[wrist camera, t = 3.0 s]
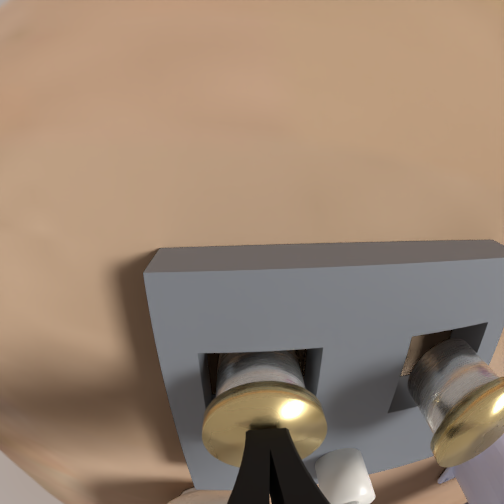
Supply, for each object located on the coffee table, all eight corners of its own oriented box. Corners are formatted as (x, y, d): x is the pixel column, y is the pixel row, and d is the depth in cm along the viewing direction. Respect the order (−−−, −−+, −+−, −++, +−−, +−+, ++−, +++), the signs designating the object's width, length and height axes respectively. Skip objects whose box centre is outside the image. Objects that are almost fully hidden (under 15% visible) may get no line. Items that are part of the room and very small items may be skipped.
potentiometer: (365, 444, 14) (389, 510, 10) (355, 468, 15) (374, 528, 10) (317, 452, 14) (334, 523, 9) (312, 475, 14) (324, 539, 10)
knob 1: (309, 322, 13) (335, 391, 9) (302, 395, 15) (319, 463, 11) (204, 326, 13) (194, 398, 9) (213, 399, 14) (208, 470, 10)
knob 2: (486, 323, 12) (540, 375, 8) (458, 393, 13) (496, 447, 9) (413, 338, 11) (465, 408, 7) (389, 411, 13) (422, 478, 9)
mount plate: (492, 239, 13) (523, 256, 11) (428, 428, 18) (442, 452, 15) (159, 248, 12) (142, 272, 10) (198, 458, 17) (195, 489, 15)
